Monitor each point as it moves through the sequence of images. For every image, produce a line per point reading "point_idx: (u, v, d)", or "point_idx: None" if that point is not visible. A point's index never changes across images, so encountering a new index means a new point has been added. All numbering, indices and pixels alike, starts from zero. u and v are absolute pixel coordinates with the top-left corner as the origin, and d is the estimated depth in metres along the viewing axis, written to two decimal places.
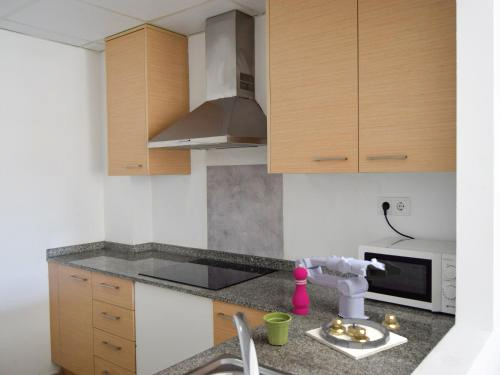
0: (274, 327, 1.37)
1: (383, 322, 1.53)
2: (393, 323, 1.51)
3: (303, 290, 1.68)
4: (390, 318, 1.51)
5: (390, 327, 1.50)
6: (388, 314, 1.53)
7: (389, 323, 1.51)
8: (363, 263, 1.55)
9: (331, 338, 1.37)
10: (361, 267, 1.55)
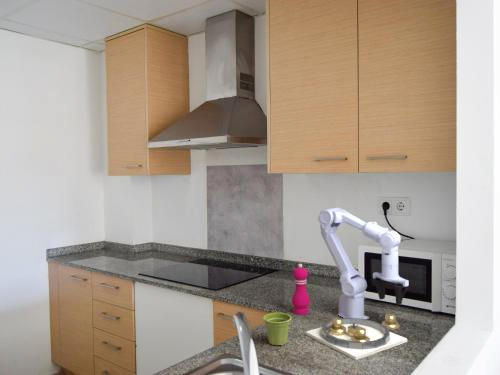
0: (274, 327, 1.37)
1: (383, 322, 1.53)
2: (393, 323, 1.51)
3: (303, 290, 1.68)
4: (390, 318, 1.51)
5: (390, 327, 1.50)
6: (388, 314, 1.53)
7: (389, 323, 1.51)
8: None
9: (331, 338, 1.37)
10: (397, 268, 1.50)
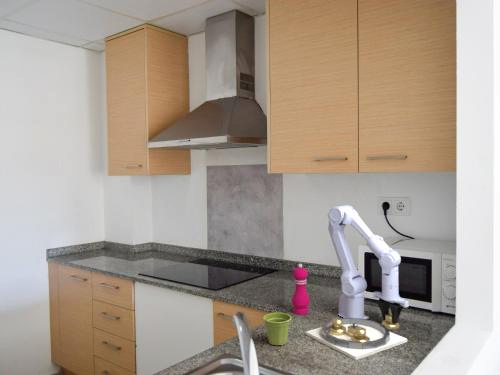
0: (274, 327, 1.37)
1: (383, 322, 1.53)
2: None
3: (303, 290, 1.68)
4: (390, 318, 1.51)
5: (390, 327, 1.50)
6: (388, 314, 1.53)
7: (389, 323, 1.51)
8: None
9: (331, 338, 1.37)
10: (397, 288, 1.50)
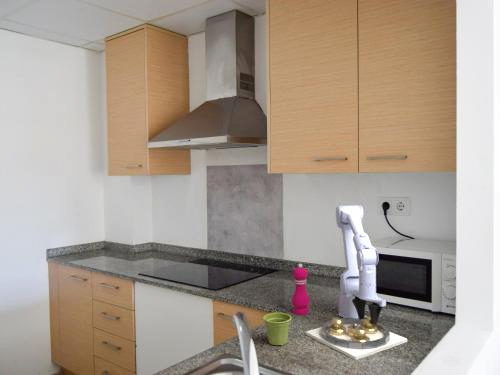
0: (274, 327, 1.37)
1: (361, 325, 1.47)
2: (371, 327, 1.45)
3: (303, 290, 1.68)
4: (368, 322, 1.45)
5: (368, 331, 1.44)
6: (366, 317, 1.47)
7: (367, 327, 1.45)
8: (375, 286, 1.45)
9: (331, 338, 1.37)
10: (375, 287, 1.44)
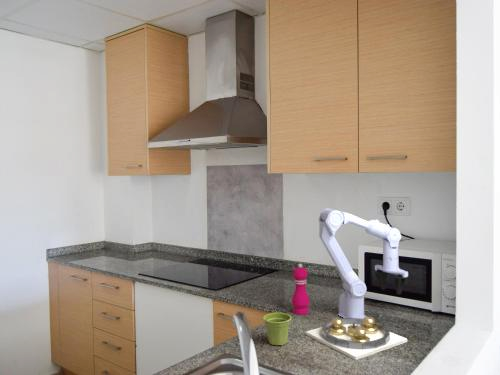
0: (274, 327, 1.37)
1: (361, 325, 1.47)
2: (371, 327, 1.45)
3: (303, 290, 1.68)
4: (368, 322, 1.45)
5: (368, 331, 1.44)
6: (366, 317, 1.47)
7: (367, 327, 1.45)
8: None
9: (331, 338, 1.37)
10: (397, 260, 1.62)
